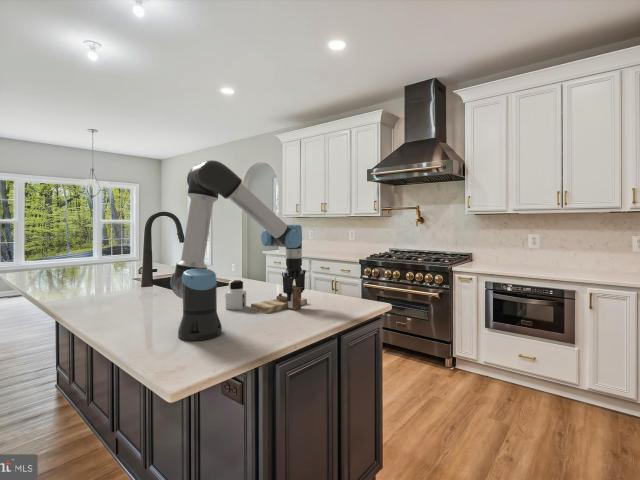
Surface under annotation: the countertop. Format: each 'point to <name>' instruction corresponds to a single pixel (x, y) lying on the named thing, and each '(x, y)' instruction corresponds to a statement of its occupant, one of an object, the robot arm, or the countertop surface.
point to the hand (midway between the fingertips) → (294, 306)
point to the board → (272, 305)
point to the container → (236, 296)
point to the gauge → (296, 297)
